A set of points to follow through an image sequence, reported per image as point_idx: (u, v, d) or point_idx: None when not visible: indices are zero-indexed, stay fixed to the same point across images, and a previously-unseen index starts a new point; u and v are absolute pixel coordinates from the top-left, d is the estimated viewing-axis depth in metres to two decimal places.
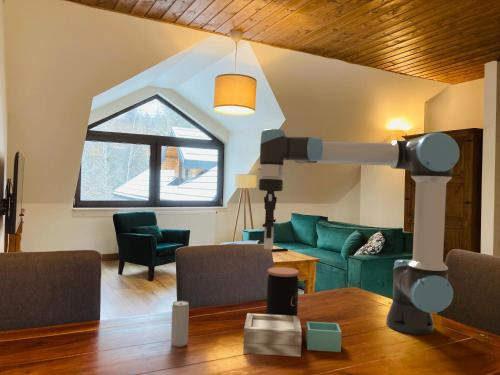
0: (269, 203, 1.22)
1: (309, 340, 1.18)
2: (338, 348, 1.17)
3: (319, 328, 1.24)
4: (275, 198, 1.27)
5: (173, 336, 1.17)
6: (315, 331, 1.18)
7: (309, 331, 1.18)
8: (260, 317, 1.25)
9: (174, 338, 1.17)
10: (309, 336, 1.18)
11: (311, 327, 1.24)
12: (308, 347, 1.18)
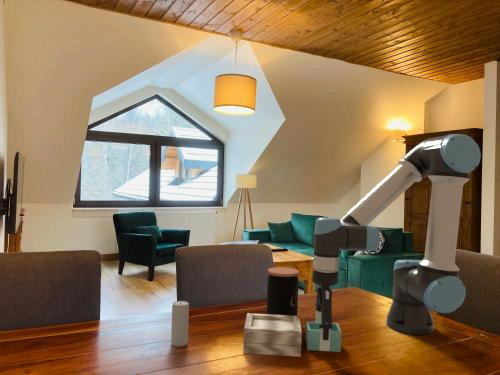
0: (326, 302, 1.14)
1: (309, 340, 1.18)
2: (338, 348, 1.17)
3: (319, 328, 1.24)
4: None
5: (173, 336, 1.17)
6: (315, 331, 1.18)
7: (309, 331, 1.18)
8: (260, 317, 1.25)
9: (174, 338, 1.17)
10: (309, 336, 1.18)
11: (311, 327, 1.24)
12: (308, 347, 1.18)
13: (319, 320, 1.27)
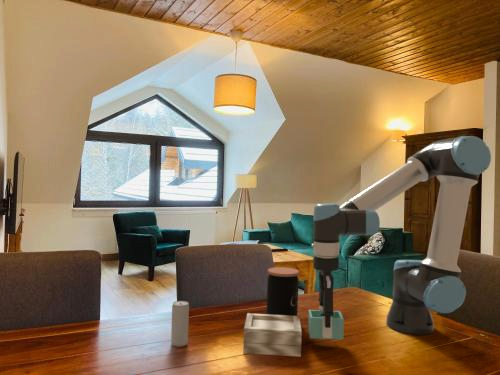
0: (328, 291, 1.14)
1: (311, 328, 1.18)
2: (341, 335, 1.17)
3: (321, 316, 1.24)
4: (332, 278, 1.19)
5: (173, 336, 1.17)
6: (317, 319, 1.18)
7: (311, 319, 1.18)
8: (260, 317, 1.25)
9: (174, 338, 1.17)
10: (311, 324, 1.18)
11: (313, 315, 1.24)
12: (311, 335, 1.18)
13: None
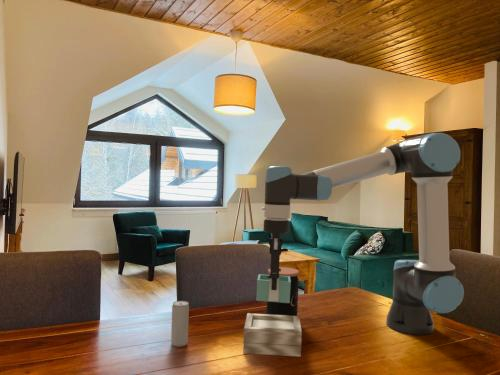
0: (274, 252, 1.13)
1: (258, 290, 1.17)
2: (287, 299, 1.16)
3: None
4: (281, 242, 1.18)
5: (173, 336, 1.17)
6: (264, 281, 1.16)
7: (258, 281, 1.16)
8: (260, 317, 1.25)
9: (174, 338, 1.17)
10: (258, 286, 1.17)
11: (263, 280, 1.23)
12: (257, 297, 1.17)
13: None
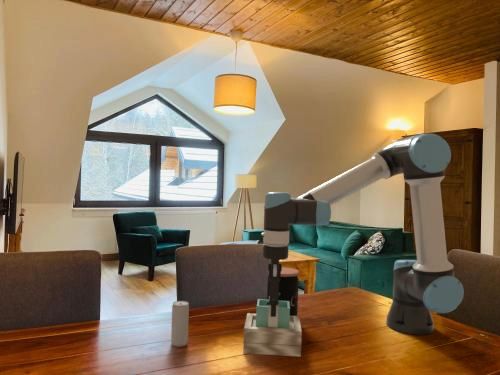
0: (274, 279, 1.13)
1: (257, 316, 1.17)
2: (286, 325, 1.16)
3: None
4: (280, 268, 1.18)
5: (173, 336, 1.17)
6: (263, 307, 1.17)
7: (257, 307, 1.17)
8: None
9: (174, 338, 1.17)
10: (257, 312, 1.17)
11: (262, 305, 1.23)
12: (256, 323, 1.17)
13: None
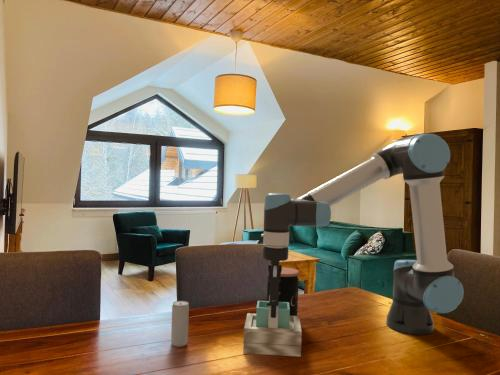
0: (274, 280, 1.13)
1: (257, 318, 1.17)
2: (286, 326, 1.16)
3: None
4: (280, 269, 1.18)
5: (173, 336, 1.17)
6: (263, 309, 1.17)
7: (257, 309, 1.17)
8: None
9: (174, 338, 1.17)
10: (257, 314, 1.17)
11: (262, 306, 1.23)
12: (256, 325, 1.17)
13: None
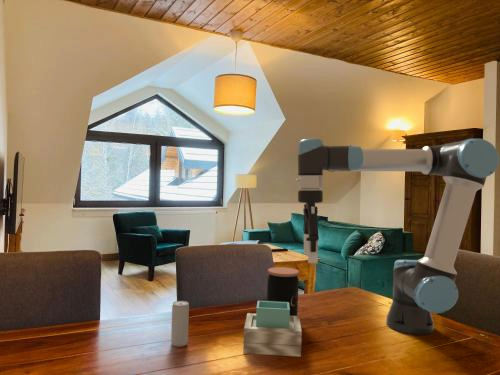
0: (312, 216, 1.18)
1: (257, 318, 1.17)
2: (286, 326, 1.16)
3: (270, 307, 1.23)
4: None
5: (173, 336, 1.17)
6: (263, 309, 1.17)
7: (257, 309, 1.17)
8: None
9: (174, 338, 1.17)
10: (257, 314, 1.17)
11: (262, 306, 1.23)
12: (256, 325, 1.17)
13: (307, 242, 1.32)
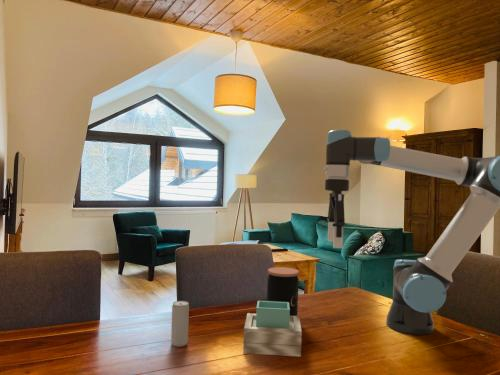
0: (339, 203, 1.24)
1: (257, 318, 1.17)
2: (286, 326, 1.16)
3: (270, 307, 1.23)
4: None
5: (173, 336, 1.17)
6: (263, 309, 1.17)
7: (257, 309, 1.17)
8: None
9: (174, 338, 1.17)
10: (257, 314, 1.17)
11: (262, 306, 1.23)
12: (256, 325, 1.17)
13: (331, 229, 1.38)
